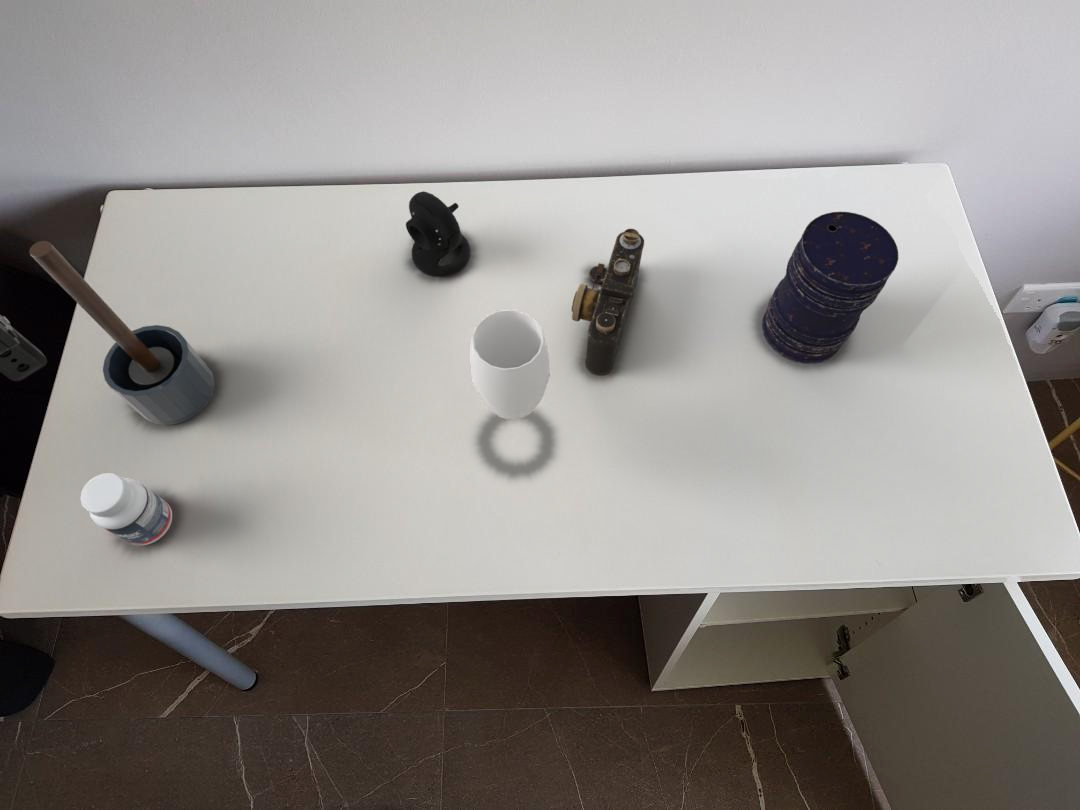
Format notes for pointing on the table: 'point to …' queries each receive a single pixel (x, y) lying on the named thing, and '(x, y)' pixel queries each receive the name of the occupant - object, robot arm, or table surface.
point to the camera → (609, 301)
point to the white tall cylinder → (509, 363)
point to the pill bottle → (126, 508)
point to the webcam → (435, 235)
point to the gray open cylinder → (171, 397)
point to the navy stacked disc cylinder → (828, 285)
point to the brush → (108, 320)
